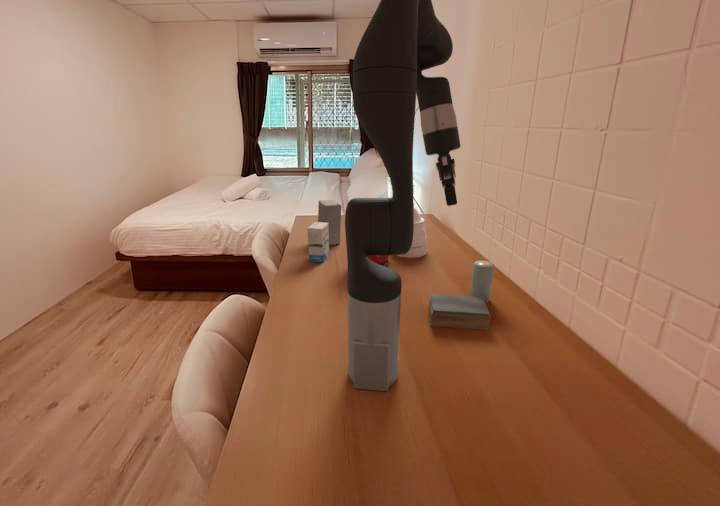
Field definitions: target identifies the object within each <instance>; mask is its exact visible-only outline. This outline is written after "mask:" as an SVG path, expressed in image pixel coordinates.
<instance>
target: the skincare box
mask: <svg viewBox="0 0 720 506" xmlns="http://www.w3.org/2000/svg"><path fill="white" fill-rule="evenodd" d="M317 209H318V210H317V211H318V214H317V218H318V220H317V222H324V223H328V230H329V247H330V246H337V245H336V244H339V245H340V244H341V225H342V221H341V220H342V205H341V204H340V203H339V202H338V201H336V200H334V199H323V200H322V199H321V200H318V208H317Z"/></svg>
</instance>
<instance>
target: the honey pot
mask: <svg viewBox="0 0 720 506" xmlns="http://www.w3.org/2000/svg"><path fill="white" fill-rule="evenodd" d="M413 206H414V231H413V241H412V245H411V248H410V250H409V251H408V252H407V253H406V254H402V255H395V256H397V257H401V258H407V259H408V258H411V259H412V258H413V259H414V258H421V257H423V256H425V255H426V254H427V251H428V250H427V249H428V248H427V247H428V237H427V233H426V231H425V230H426V229H425V227H424V224H425V222H426V220H425V219H424V218H423V217H421V216H420V213H419V211H418V209H417V208H416V207H415V202H413Z"/></svg>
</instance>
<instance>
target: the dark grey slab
mask: <svg viewBox="0 0 720 506" xmlns="http://www.w3.org/2000/svg"><path fill="white" fill-rule="evenodd" d="M428 302H429V303H428V312H429V314H428V315H429V322H430V323H429V324H430V327H435V328H436V327H437V328H451V329H453V328H454V329H465V330H479V331H481V330H482V331H489V330H490V325H491V318H492V317H491V314H490V312H489V309H488V306H487V303H485V301H484V299H483V297H476V296H470V295H455V294H439V293H431V294H430V295H429V301H428Z"/></svg>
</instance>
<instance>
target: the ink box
mask: <svg viewBox="0 0 720 506" xmlns="http://www.w3.org/2000/svg"><path fill="white" fill-rule="evenodd" d="M307 242H308V243H307V244H308V258H309V259H308V261H309V263H320V264H321V263H324V262H325V261H326V260H327V258H328V257H329V256H330V246H329V230H328V223H324V222H318V221H314V222H312V224H311V225H309V226H308V227H307Z"/></svg>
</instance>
